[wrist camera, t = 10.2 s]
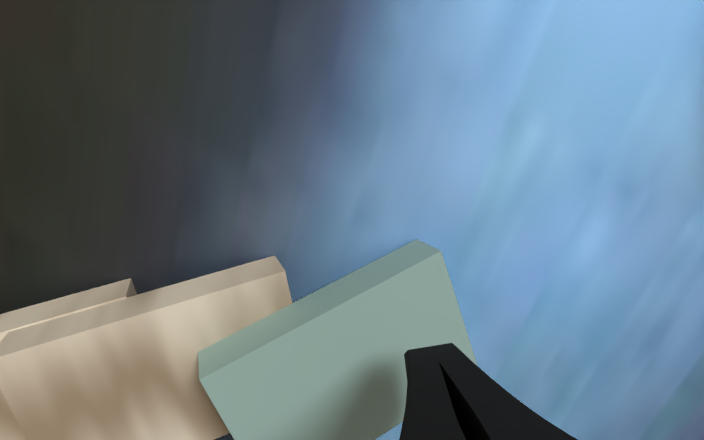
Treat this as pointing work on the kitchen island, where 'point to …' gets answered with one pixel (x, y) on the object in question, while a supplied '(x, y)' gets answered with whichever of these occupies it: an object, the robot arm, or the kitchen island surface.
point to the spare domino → (336, 353)
